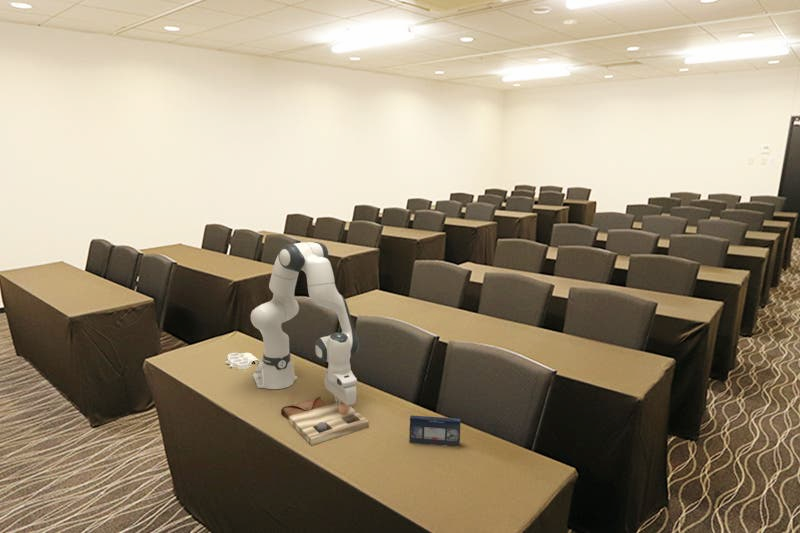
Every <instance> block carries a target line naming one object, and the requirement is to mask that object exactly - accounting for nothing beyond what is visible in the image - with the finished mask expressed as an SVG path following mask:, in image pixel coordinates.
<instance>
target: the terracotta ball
mask: <svg viewBox="0 0 800 533" xmlns="http://www.w3.org/2000/svg"><path fill="white" fill-rule="evenodd" d="M348 410H349V407H348V405H346V404H345V403H342V404H340V406H339V412H340V413H342V414H345V413H347V412H348Z"/></svg>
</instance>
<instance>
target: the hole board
mask: <svg viewBox="0 0 800 533" xmlns="http://www.w3.org/2000/svg"><path fill="white" fill-rule="evenodd" d="M348 407H349V410H348V412H347V413H345V414H342V413H340V412H339V407H338V406H337V405H336V402H334V403H331V404H327V405H325V406H323V407H319V408H316V409H312V410H309V411H305V412H302V413H298V414H295V415H291V416H289V420H288V422H289V424H290V425H291V426H292V427H293V428H294V429H295V430H296V431H297V433H299V434H300V435H301V436H302V437H303V439H304V440H306V442H307V443H309V445H310V446H314V445H317V444H320V443H323V442H326V441H329V440H332V439H335V438H338V437H342V436H344V435H348V434H351V433H354V432H357V431H360V430H363V429H366V428H369V423H370V421H369V420H368V419H367V418H366V417H364V416H363V415H362V414H361V413H359V412H358V411H357V410H356V409H354V408H353V407H352V406H351V405H349V406H348ZM320 422H324V423H326V425H327V430H326V431H324V432H321V433H319V432H318V431H317V428H316V427H317V425H318V423H320Z"/></svg>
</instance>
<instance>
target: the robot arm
mask: <svg viewBox="0 0 800 533" xmlns="http://www.w3.org/2000/svg"><path fill="white" fill-rule="evenodd" d="M301 271H303V272H304V274H305V276H306V284H307V291H308V292H307V293H308V297H309V298H310V300H311V301H312V302H313V303H314V304H315V305H317V306H319V307H323V308H326V309H331V310H333V311H334V312H335V313H336V315H337V317H338V318H337V319H338V321H339V325H340V327H341V332H340V331H339V332H332V333H331V334H329V335H327V336H322V337H320V338H318V339H317V340H316V341H315V344H314V353H315V354H314V355H315V357H317V359H319V360H321V361H323V362H327V363H328V366H327V368H326V372H325V374H324V384H323V385H324V388H325V389H326V390H328V392H329V393H331V394H332V395H334V396H333V397H334V400H335V403H336V405H337V406H338V407H339V406H340V404H342V403H345V404H346V405H348V406H352V405H354V404H356V402H357V386H356V385H357V383H358V379H357V377H356V376H355V375H354V373H353V371H352V370H351V362H350V361H351V357H353V356H355V355H356V354H357V352H358V351H359V349H360V340H359V338H358V335H357V332H356V331H355V328H354V327H355V326H354V324H353V323H354V322H353V320H352V317H351V312H350V309H349V306H348V304H347V301H346V298H345V297H344V295H342V294H341V293H339V291H338V289H337V285H336V283H335V275H334V271H333V268H332V264H331V261H330V260H329V250H328V248H327V246H326V245H325V244H324V243H322V242H318V241H313V242H310V241H302V242H297V243H288V244H285V245H283V246H282V247H281V248H280V250H279V253H278V255H277V257H276V259H275V262H274V264H273V266H272V271H271V276H270V279H269V284H268V288H269V290H270V291H271V293H273V294H272V299H271V300H269V301H267V302H264V303H261V304H260V305H258V306H256V307H254V309H252V311H251V313H250V322H251V324H252V325H253V327H254V328H256V329H257V330H259V332H260V333H261V336H262V341H263V352H262V353H263V355H262V361H260V363H259V364H258V365H257V368H255V372H254V373H253V375H252V377H253V380H254V382H255V385H256V387H257V388H258V389H267V390H280V389H285V388H289V387H290V386H292V385H293V384H294V383H295V381H297V380H298V376H297V375H295V367H294V362H292V361H291V358H292V356H291V351H290V337H289V335H288V334H287V333H286V332H284V331H283V328H282V325H283V324H282V323H286V322H287V321H290V320H291V319H293V318H294V317H295V316H297V315H298V313H299V311H300V306H299V303H298V301H297V300H296V298H295V292H296V291H295V290H296V286H297V281H298V277H299V273H300V272H301Z"/></svg>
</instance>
